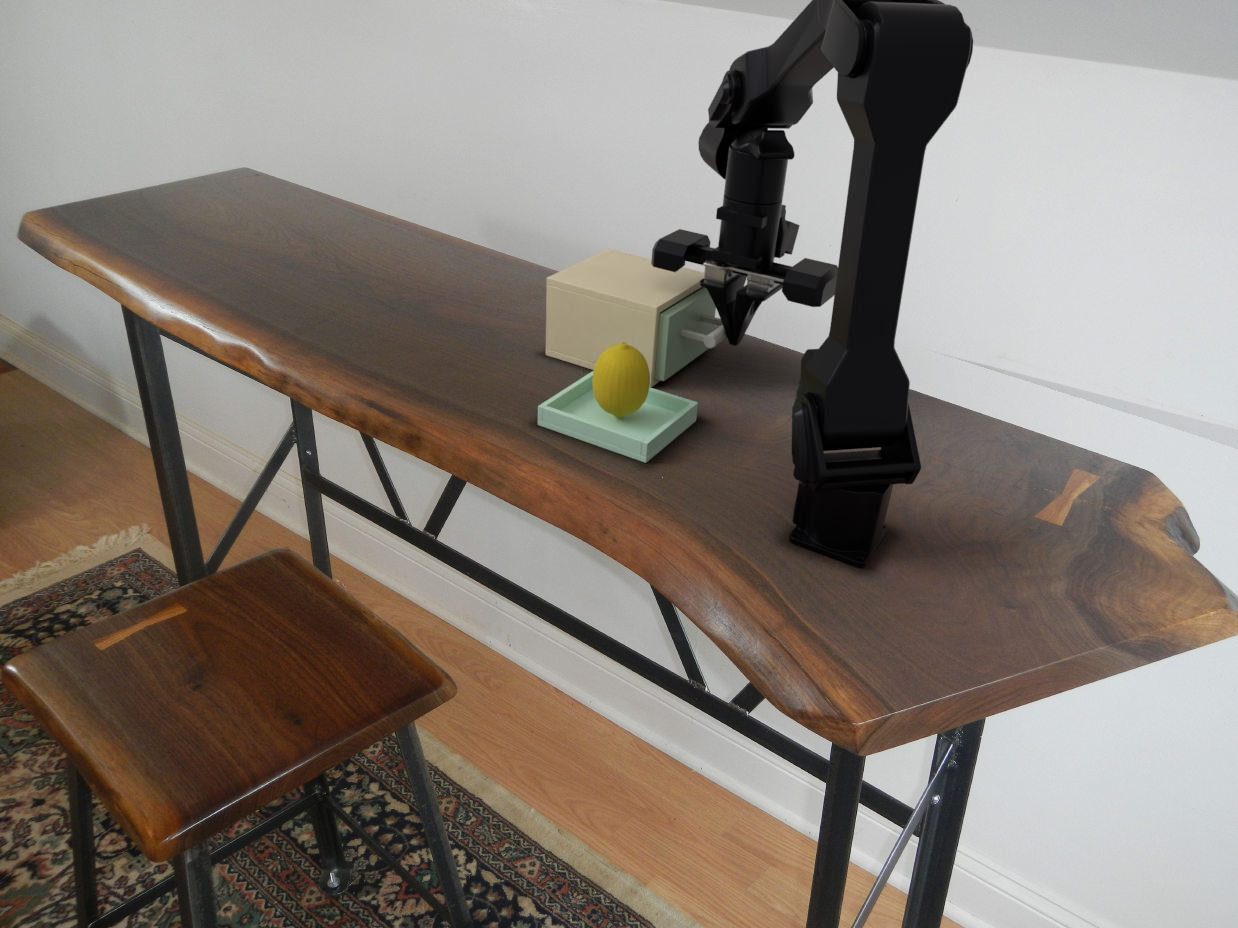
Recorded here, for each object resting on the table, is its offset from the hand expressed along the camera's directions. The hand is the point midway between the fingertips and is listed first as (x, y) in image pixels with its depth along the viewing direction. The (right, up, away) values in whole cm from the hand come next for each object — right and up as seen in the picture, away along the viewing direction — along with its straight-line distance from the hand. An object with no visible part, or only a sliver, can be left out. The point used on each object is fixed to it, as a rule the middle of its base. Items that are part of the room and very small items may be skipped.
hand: (734, 344), depth 101 cm
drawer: (-8, 0, +6) cm, 10 cm away
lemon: (-12, -8, -7) cm, 16 cm away
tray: (-12, -9, -7) cm, 17 cm away
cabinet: (-11, 0, +8) cm, 14 cm away
